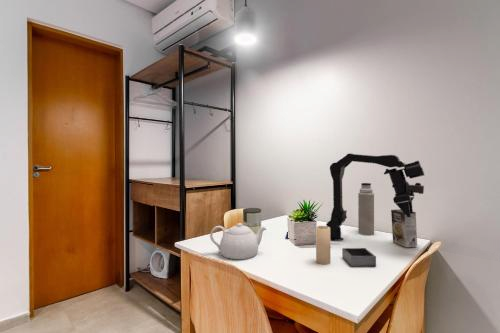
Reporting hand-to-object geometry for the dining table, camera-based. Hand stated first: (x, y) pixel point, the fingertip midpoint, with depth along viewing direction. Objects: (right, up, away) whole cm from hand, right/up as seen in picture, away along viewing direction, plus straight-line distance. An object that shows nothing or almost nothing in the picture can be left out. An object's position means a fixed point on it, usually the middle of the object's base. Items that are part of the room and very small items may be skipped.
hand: (410, 215), depth 117 cm
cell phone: (-48, -17, +27) cm, 57 cm away
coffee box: (+3, -16, +9) cm, 18 cm away
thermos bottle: (-7, -16, +29) cm, 34 cm away
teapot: (-77, -18, +1) cm, 79 cm away
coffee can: (-70, -17, +30) cm, 78 cm away
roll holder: (-28, -17, -11) cm, 34 cm away
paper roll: (-42, -17, -10) cm, 46 cm away
